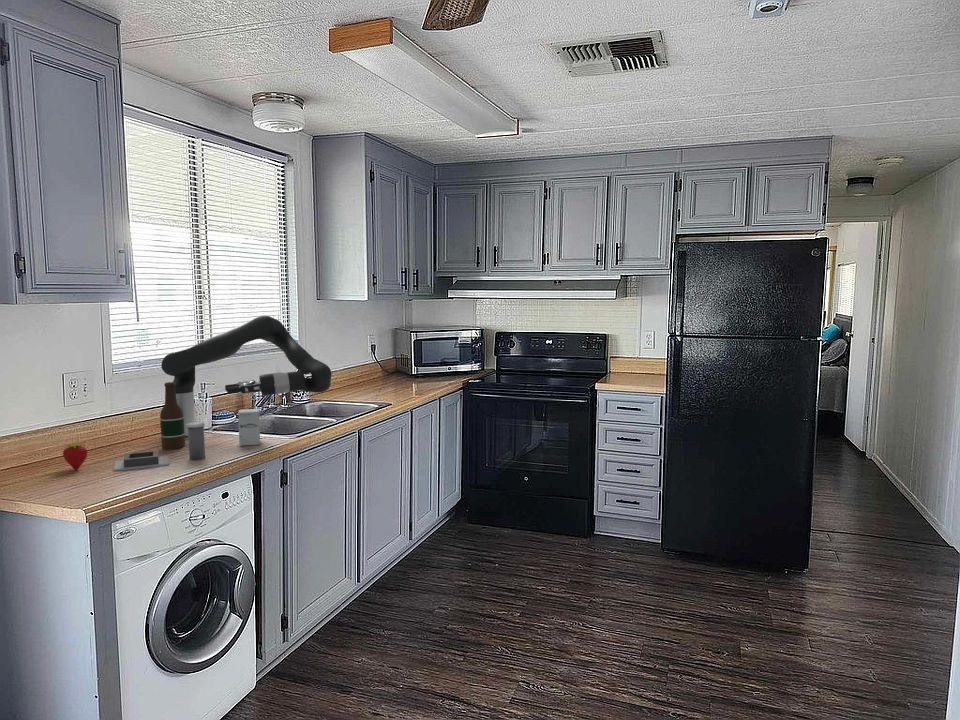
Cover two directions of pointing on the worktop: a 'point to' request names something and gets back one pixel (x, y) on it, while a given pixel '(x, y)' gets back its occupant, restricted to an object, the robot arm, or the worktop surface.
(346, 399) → the worktop surface
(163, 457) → the grey recessed tray
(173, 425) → the beer bottle
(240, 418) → the supplement box
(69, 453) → the strawberry
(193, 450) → the gray flanged cylinder
